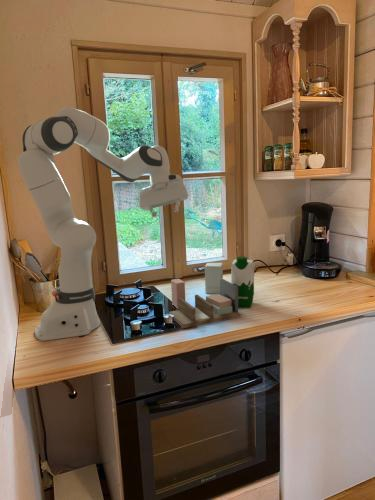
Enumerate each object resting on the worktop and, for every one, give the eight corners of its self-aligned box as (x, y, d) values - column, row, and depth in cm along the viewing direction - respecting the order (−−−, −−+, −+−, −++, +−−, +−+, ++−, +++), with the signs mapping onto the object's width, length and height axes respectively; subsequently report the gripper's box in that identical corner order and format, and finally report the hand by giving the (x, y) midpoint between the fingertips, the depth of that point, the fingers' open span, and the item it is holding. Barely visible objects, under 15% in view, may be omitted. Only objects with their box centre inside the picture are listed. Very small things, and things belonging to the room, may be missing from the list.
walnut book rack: (182, 328, 132) (181, 310, 131) (168, 315, 145) (168, 299, 143) (240, 316, 140) (240, 300, 139) (222, 305, 153) (222, 290, 152)
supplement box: (221, 294, 168) (221, 266, 166) (205, 293, 170) (204, 266, 167) (223, 289, 175) (222, 262, 173) (207, 288, 177) (206, 262, 174)
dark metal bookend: (235, 312, 140) (235, 287, 139) (220, 303, 151) (219, 279, 149) (238, 312, 141) (238, 286, 139) (223, 302, 152) (222, 278, 150)
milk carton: (230, 308, 150) (229, 258, 146) (233, 300, 159) (233, 253, 155) (252, 309, 148) (252, 259, 144) (255, 301, 156) (254, 254, 152)
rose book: (177, 310, 150) (176, 283, 148) (172, 305, 155) (171, 279, 153) (185, 308, 151) (184, 282, 149) (180, 304, 157) (179, 278, 155)
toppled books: (217, 315, 139) (217, 303, 138) (205, 306, 148) (205, 295, 147) (233, 312, 141) (233, 300, 140) (220, 304, 151) (220, 293, 150)
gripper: (135, 186, 155) (138, 217, 151) (182, 173, 150) (186, 205, 146) (141, 193, 161) (144, 223, 156) (186, 180, 156) (191, 211, 151)
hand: (165, 214), depth 151 cm, fingers open, 8 cm apart
